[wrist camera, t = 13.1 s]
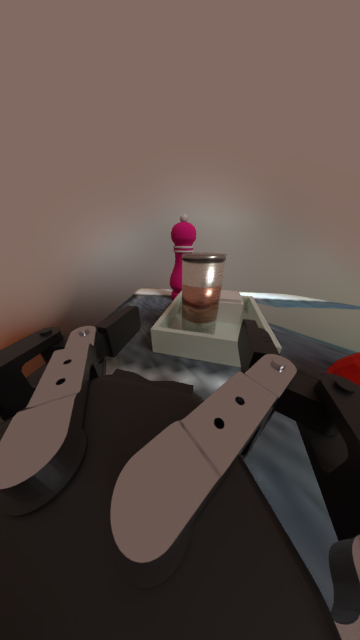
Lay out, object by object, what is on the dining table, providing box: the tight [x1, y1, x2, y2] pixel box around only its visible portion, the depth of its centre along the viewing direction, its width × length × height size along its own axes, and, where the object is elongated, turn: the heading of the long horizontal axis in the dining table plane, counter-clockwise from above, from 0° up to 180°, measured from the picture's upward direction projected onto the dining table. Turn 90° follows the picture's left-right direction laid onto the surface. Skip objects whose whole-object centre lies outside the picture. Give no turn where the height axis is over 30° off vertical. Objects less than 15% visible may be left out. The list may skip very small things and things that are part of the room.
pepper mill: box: [170, 214, 196, 300], centre depth 38 cm, size 7×7×20 cm
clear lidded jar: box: [182, 253, 226, 335], centre depth 21 cm, size 6×6×12 cm
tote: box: [151, 291, 282, 368], centre depth 27 cm, size 16×18×4 cm
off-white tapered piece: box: [217, 290, 244, 324], centre depth 30 cm, size 10×6×5 cm, turn 76°
